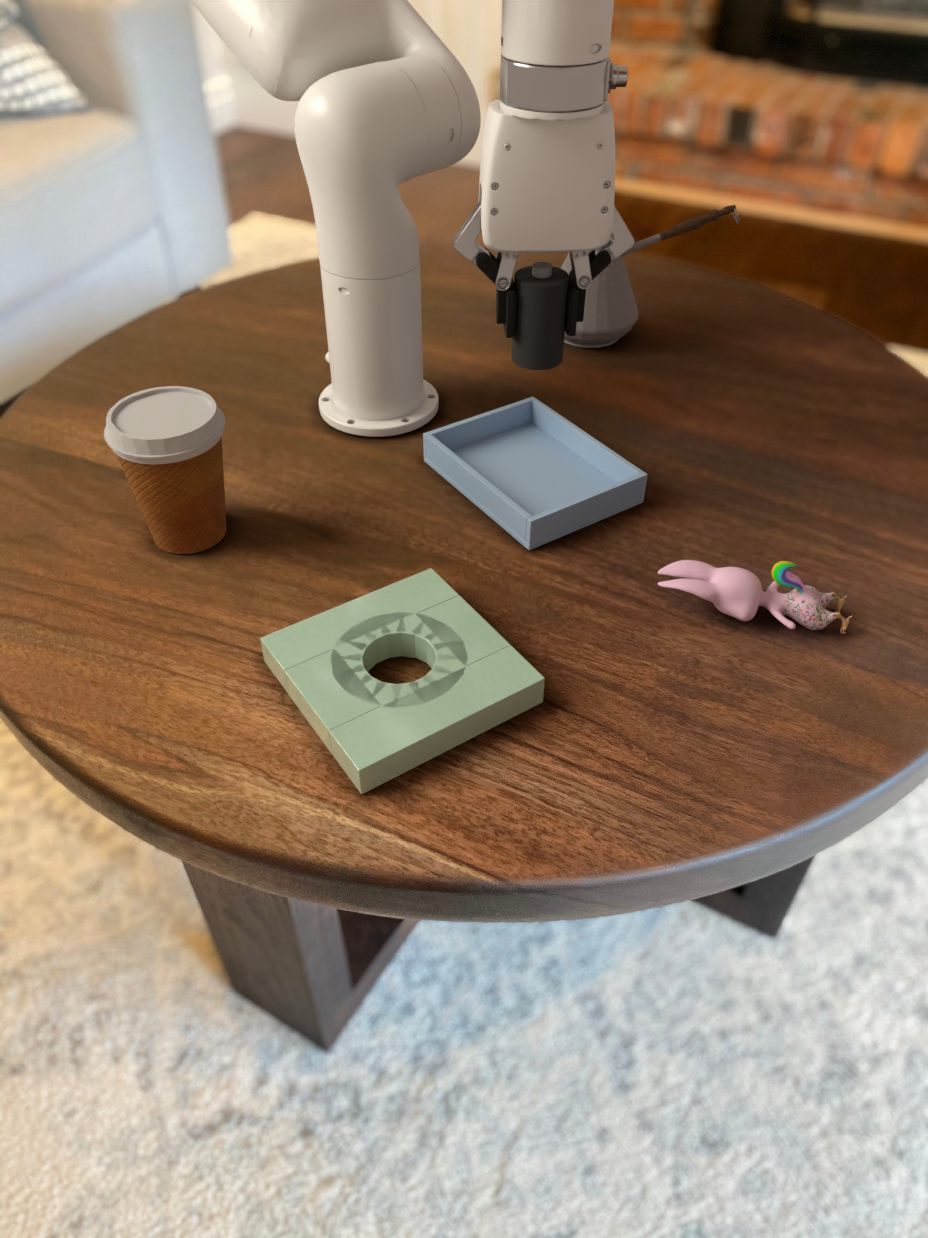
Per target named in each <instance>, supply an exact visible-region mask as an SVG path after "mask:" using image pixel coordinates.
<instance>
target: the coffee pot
mask: <svg viewBox="0 0 928 1238" xmlns="http://www.w3.org/2000/svg"><path fill="white" fill-rule="evenodd" d="M730 214H733V219H734V221H735V223H736V224H737V225H740V218H739V214H738V210H737V205H736V204H733V205H727V206H724V207H723V208H722V209H719V210H718V209H715V208H714V209H712V210H711V212H710V213H707V214H702V215H698V216H693V217H691V218H689V219H688V220H684V221H682V222H680V223H678V224H676V225H674V226H671V227H669V228H667V229H665V230H662V231H660V232H659V233H657V234H654V235H652V236H649V237H646V238H643V239H641V240H638V241H635V243H634V246H633V247H632V248H631V249H630V250H628V251H627V252H625V253H624V254H622V255H621V256H619V257H618V258H617V259H614V260H612V261H611V263H610V264H609V265H608V266H607V267H606V268H605V269H604V270H603V271H602V272H601V273H600V274H599V275H598V276H596V277H595V278H594V279H593V280H592V283H591V285H590V287H588V288H587V289H586V297H585V308H584V318H583V322H577V324H576V335H575V336H568V335H566V332H565V337H564V344H567V345H570V346H572V347H578V348H585V349H586V348H587V349H597V348H598V349H599V348H604V347H608V346H611V345H613V344H616V343H617V342H618V341H619V339H621V338H623V337H624V336H626V334H628V333H629V332H631V331H632V328H634V326H635V324H636V322H637V321H638V319H639V308H638V305H637V301H636V298H635V294H634V290H633V288H632V287H633V286H632V283H631V280H630V277H629V273H628V271H627V267H626V266H627V265H626V263H625V260H624V257H625V256H628V255H629V254H632V253H634V252H637V251H639V250H641V249H644V248H647V247H648V246H651V245H653V244H656V243H659V242H660V241H665V240H668V239H671V238H674V237H678V236H680V235H682V234H686V233H689V232H692V231H696V230H698V229H699V228H701V227H703V226H704V225H706V224H708V223H710V222H712V221H714V222H718V221H719V220H720V218H721V217H724V216H728V215H730ZM624 223H625V224H626V222H625V221H624ZM626 226H627V227H628V225H627V224H626ZM590 252H591V251H588V254H589V253H590ZM560 269H563V270H564V271H566V272H567V273H568V275H569V272H570V271H571V270H572V267H571V261H570V254H569V252H567V255H566V257H565V258H564V261H563V263H562V265H561V267H560Z"/></svg>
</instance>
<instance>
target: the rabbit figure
mask: <svg viewBox="0 0 928 1238" xmlns="http://www.w3.org/2000/svg"><path fill="white" fill-rule="evenodd" d="M797 566H798V565H797V564H796V563H794V562H792V561H788V560H780V561H777V562H776V563H774V564H773V566H772V568H771V577H772V582H771V583H770V584H769V586H768V587H767V588H766V591H763V586H762V582H761V580H760V579H759V577H758V576H757V575H756V574H755V573H753V571H750V570H749V569H746V568H743V567H738V566H723V567H715V566H713V565H711V564H709V563H707V562H703V561H699V560H694V559H680V560H676V561H674V562H671V563H669V564H667V565H665V566H664V567H662V568H660V569H659V570H657V574H658V575H659V576H669V577H675V578H674V579H668V580H664V581H659V582H657V585H658V586H659V587H662V588H667V589H675V590H678V591H679V590H680V591H683V592H686V593H688V594H692V595H694V596H696V597H698V598H700V599H703V600H705V601H707V602H711V603H712V604H713V606H714V607H715V609H717V610H718V611H719V612H721V613H723V614H725V615H728V616H730V617H732V618H734V619H737V620H738V621H740V622H749V621H751V620H752V619H753V618H754V617H755V616H756V614H757V611H758V609H759V607H763V608H765V609H766V610H767V611H769V612H770V614H771V615H772V616H773V617H774V618H776V620H777V621H778V622H780V623H782V625H784V626H785V627H786V628H788V629H790V630H795V629H796V623H798V624H800V625H801V626H802V627H804V628H805V629H808V630H811V631H820V630H823V629H825V628H826V627H827V626H828V625H830V624H831V623H832V622H833V621H835V620H836V619H839V620H840V621H841V622H842V623H841V627H840V629H839V633H840V634H841V635H842V634H846V632H845V631H847V628H848V627H849V624H850V621H851V620H850V619H851V618H852V617H853V615H850V616H848V617H847V618H845V617H844V616H843V615H842V614H841V610H842V609H843V606H844V604H845V602H846V601H845V599H846V598H847V597H848V595H845V596H844V597H842V598H841V597H839V595H837V593H836V592H835V591H831V592H822V591H821V592H820V591H818V589H816V588H815V586H812V585H808V584H807V585H805V584H804V582H803V581H802V579H801V578H800V577H799V576H798V575H796V574H795V573H792V572H791V571H789V570H790V569H792V568H794V567H797ZM780 586H781V587H784V588H790V589H792V590H791V591H789V592H786V593H785V592H783V593H782V592H779V591H778V589H779V587H780ZM832 600H836V602H837V604H836V605H835V612H832V611H830V610H828V609H826V607H827V606H828V604H829V603H830V602H831V601H832ZM785 616H788V617H789V618H791V619H792V620H793V621H795V622H796V623H794V622H793V621H792V620H790V619H787V618H786V617H785Z"/></svg>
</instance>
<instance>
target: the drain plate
mask: <svg viewBox="0 0 928 1238" xmlns="http://www.w3.org/2000/svg"><path fill="white" fill-rule="evenodd" d="M259 641H260V645H261V646H260V647H261V650H262V656H263V661H264V663H265V664H266V666H267V667H268V668H269V670H270V671H271V673H272V674H273V676H274V677H275V678H276V680H277V681H278V682H279V683H280V685H281V687H282V688H283V689H284V690H285V692H286V693H287V694H288V696H289V698H290V699H291V700H292V702H293V703H294V704H295V706H296V707H297V709H298V710H299V711H300V712H301V714H302V716H303V717H304V718H305V719H306V721H307V723H308V724H309V725H310V727H311V728H312V729H313V730H314V732H315V733H316V735H317V736H318V737H319V739H320V740H321V741H322V743H323V744H324V745H325V747H326V748H327V750H328V751H329V752H330V754H331V755H332V756H333V758H334V759H335V760H336V762H337V763H338V765H339V766H340V767H341V769H342V770H343V771H344V773H345V774H346V776H347V778H349V780H350V781H351V782H352V784H353V785H354V787H355V789H357V791H358V793H360V795H364V794H365V793H368V792H369V791H372V790H374V789H375V788H378V787H380V786H381V785H384V784H385V783H387V782H389V781H392V780H393V779H395V778H397V777H399V776H401V775H403V774H405V773H407V772H409V771H411V770H414V769H415V768H416V767H419V766H420V765H423V764H425V763H426V762H428V761H430V760H432V759H435V758H436V757H438V756H440V755H442V754H444V753H446V752H448V751H450V750H452V749H454V748H457V746H460V745H462V744H464V743H466V742H467V741H469V740H471V739H473V738H475V737H477V736H479V735H481V734H483V733H485V732H487V731H489V730H491V729H493V728H495V727H497V726H498V725H501V724H502V723H506V722H507V721H509V720H511V719H513V718H514V717H517V716H519V715H521V714H523V713H524V712H526V711H529V710H530V709H532V708H534V707H536V706H538V705H540V704H542V703H544V692H545V681H546V679H545V676H543V675H542V674H541V672H539V671H538V670H537V669H536V668H535V667H534V666H533V665H532V664H531V663H530V662H529V661H528V660H527V659H526V658H525V657H524V656H523V655H522V654H521V653H520V652H519V651H517V650H516V649H515V648H514V647H513V646H512V645H511V643H509V641H507V639H505V637H503V636H502V635H501V634H500V633H499V632H498V631H497V630H496V629H495V628H494V627H493V626H492V625H491V624H490V623H489V622H488V621H487V620H486V619H485V618H484V617H483V616H481V614H480V613H479V612H478V611H476V610H475V608H473V607H472V606H471V604H469V603H468V602H467V601H466V600H465V599H464V598H463V597H462V596H461V595H460V594H459V593H458V592H457V591H456V590H455V589H454V588H453V587H452V586H451V585H449V583H448V582H446V581H445V580H444V578H442V577H441V576H440V575H439V573H438V572H436V570H434V569H433V568H432V567H429V568H427V569H425V570H422V571H420V572H417V573H415V574H413V575H410V576H408V577H405V578H403V579H401V580H398V581H395V582H393V583H391V584H389V585H386V586H384V587H381V588H379V589H376V590H374V591H371V592H368V593H365V594H363V595H361V596H359V597H357V598H354V599H351V600H349V601H347V602H344V603H342V604H339V605H336V606H335V607H332V608H330V609H327V610H325V611H322V612H320V613H318V614H314V615H312V616H310V617H307V618H305V619H302V620H300V621H298V622H295V623H293V624H291V625H288V626H286V627H283V628H280V629H278V630H275V631H273V632H271V633H268V634H266V635H264V636H261V637H260V638H259ZM399 657H404V658H412V659H416V660H419V661H421V662H422V663H425V664H426V665H428V666H429V667H430V668H431V669H430V670H429V671H428V672H427V673H426V674H425V675H424V676H422V677H420V678H418V679H416V680H414V681H410V682H409V681H408V682H402V683H391V682H387V681H386V682H385V681H381V680H379V679H378V678H376V677H373V676H372V675H371V674H370V673H369V672H370V670H371V669H373V668H374V667H375V666H376V665H377V664H379V663H382V662H383V661H385V660H388V659H391V658H392V659H393V658H399Z"/></svg>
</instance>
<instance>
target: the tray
mask: <svg viewBox="0 0 928 1238" xmlns="http://www.w3.org/2000/svg"><path fill="white" fill-rule="evenodd" d="M422 443H423V446H422V448H423V462H424V463H426V464H427V465H428V466H429V467H430V468H431V469H432V470H433V471H435V472H436V473H437V474H438V475H440V476H441V477H442V478H443V479H444V480H445V481H447V482H448V483H449V484H450V485H451V486H452V487H454V488H455V489H456V490H457V491H458V492H460V493H461V494H462V495H463V496H464V497H466V498H467V499H468V500H469V501H470V502H471V503H472V504H474V505H475V506H476V507H477V508H478V509H480V510H481V511H482V512H483V513H484V514H485V515H487V516H488V517H489V518H490V519H491V520H492V521H494V522H495V523H496V524H497V525H498V526H500V527H501V528H502V529H503V530H504V531H505V532H507V534H509V535H510V536H512V537H513V539H515V540H516V541H517V542H518V543H520V544H521V546H523V547H524V548H526V549H527V550H528V551H532V550H534V549H536V548H539V547H541V546H543V545H545V544H548V543H550V542H554V541H555V540H557V539H560V538H563V537H565V536H568V535H569V534H572V533H574V532H577V531H579V530H582V529H584V528H586V527H588V526H591V525H593V524H595V523H598V522H600V521H602V520H605V519H607V518H610V517H612V516H614V515H617V514H619V513H622V512H625V511H627V510H629V509H631V508H633V507H636V506H638V505H641V504H643V503H644V499H645V494H646V489H647V482H648V473H647V472H645V471H644V470H642V469H641V468H639V467H638V466H636V465H634V464H633V463H632V462H631V461H628V459H626V458H624V457H623V456H621V455H620V454H619V453H617V452H615V451H614V450H613V449H611V448H610V447H608V446H606V444H604V443H603V442H601V441H600V440H598V439H596V437H594V436H592V435H590V434H589V433H587V432H586V431H584V430H583V429H581V428H580V426H579V427H578V426H577V425H576V424H574V423H573V422H572V421H570V420H568V419H567V418H565V417H564V416H562V415H561V414H559V413H558V412H556V411H555V410H553V409H552V408H551V407H549V406H548V405H546V404H545V403H543V402H542V401H540V400H539V399H538V398H536V397H535V396H531V397H527V398H524V399H522V400H518V401H516V402H513V403H510V404H506V405H503V406H500V407H498V408H494V409H493V410H489V411H485V412H483V413H479V414H477V415H473V416H472V417H468V418H464V419H462V420H459V421H455V422H453V423H450V424H447V425H445V426H442V427H438V428H435V429H432V430H430V431H426V432H423V433H422Z"/></svg>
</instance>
